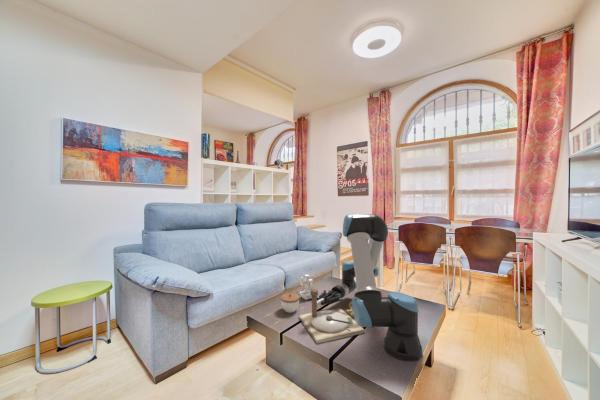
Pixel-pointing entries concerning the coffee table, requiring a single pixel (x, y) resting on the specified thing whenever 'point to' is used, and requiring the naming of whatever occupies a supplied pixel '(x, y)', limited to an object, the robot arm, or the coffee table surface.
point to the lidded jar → (290, 302)
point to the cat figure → (350, 311)
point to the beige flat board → (328, 336)
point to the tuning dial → (327, 317)
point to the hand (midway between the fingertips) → (316, 305)
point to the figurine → (306, 287)
